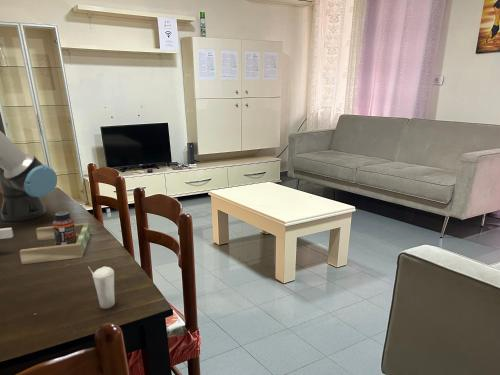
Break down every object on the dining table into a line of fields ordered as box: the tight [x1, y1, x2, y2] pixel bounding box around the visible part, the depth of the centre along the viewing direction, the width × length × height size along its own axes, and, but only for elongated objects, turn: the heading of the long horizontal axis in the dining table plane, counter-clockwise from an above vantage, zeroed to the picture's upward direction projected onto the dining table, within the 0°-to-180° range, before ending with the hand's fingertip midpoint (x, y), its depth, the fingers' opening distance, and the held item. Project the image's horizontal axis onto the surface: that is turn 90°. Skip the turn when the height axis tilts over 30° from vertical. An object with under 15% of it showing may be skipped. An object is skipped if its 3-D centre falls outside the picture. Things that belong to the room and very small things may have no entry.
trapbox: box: [19, 222, 91, 265], centre depth 115 cm, size 19×16×4 cm
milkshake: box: [87, 266, 116, 310], centre depth 83 cm, size 4×5×10 cm
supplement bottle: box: [52, 210, 77, 246], centre depth 115 cm, size 6×6×11 cm
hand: (11, 232), depth 110 cm, fingers closed
